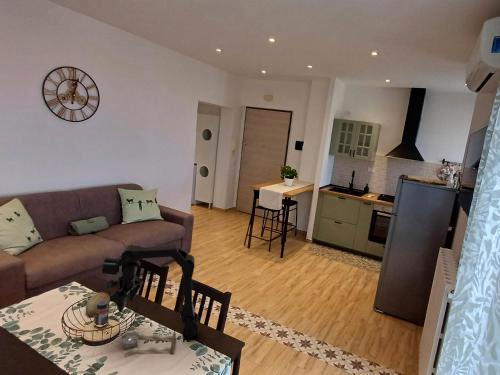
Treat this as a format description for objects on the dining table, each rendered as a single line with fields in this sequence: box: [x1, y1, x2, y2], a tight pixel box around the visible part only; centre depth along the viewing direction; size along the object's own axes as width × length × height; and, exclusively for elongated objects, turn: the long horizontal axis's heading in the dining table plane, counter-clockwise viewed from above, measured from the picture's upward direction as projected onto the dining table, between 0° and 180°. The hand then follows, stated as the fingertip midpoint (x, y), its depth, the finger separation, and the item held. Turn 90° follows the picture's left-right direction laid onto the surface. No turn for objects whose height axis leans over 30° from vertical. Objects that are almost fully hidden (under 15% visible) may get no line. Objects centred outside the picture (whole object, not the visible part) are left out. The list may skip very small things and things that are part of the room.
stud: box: [120, 331, 139, 350], centre depth 141 cm, size 7×7×4 cm
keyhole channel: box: [123, 330, 177, 357], centre depth 143 cm, size 20×14×3 cm
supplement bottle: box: [93, 301, 110, 325], centre depth 152 cm, size 6×6×11 cm
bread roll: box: [85, 292, 111, 317], centre depth 163 cm, size 10×15×8 cm, turn 0°
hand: (126, 306), depth 145 cm, fingers open, 9 cm apart
